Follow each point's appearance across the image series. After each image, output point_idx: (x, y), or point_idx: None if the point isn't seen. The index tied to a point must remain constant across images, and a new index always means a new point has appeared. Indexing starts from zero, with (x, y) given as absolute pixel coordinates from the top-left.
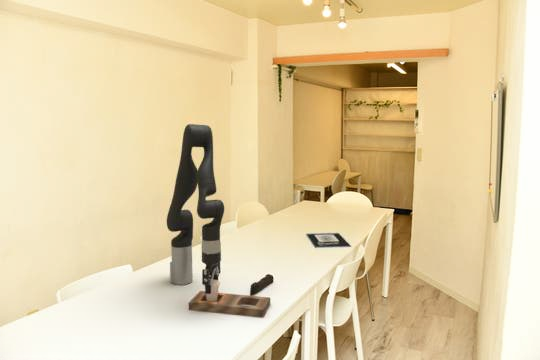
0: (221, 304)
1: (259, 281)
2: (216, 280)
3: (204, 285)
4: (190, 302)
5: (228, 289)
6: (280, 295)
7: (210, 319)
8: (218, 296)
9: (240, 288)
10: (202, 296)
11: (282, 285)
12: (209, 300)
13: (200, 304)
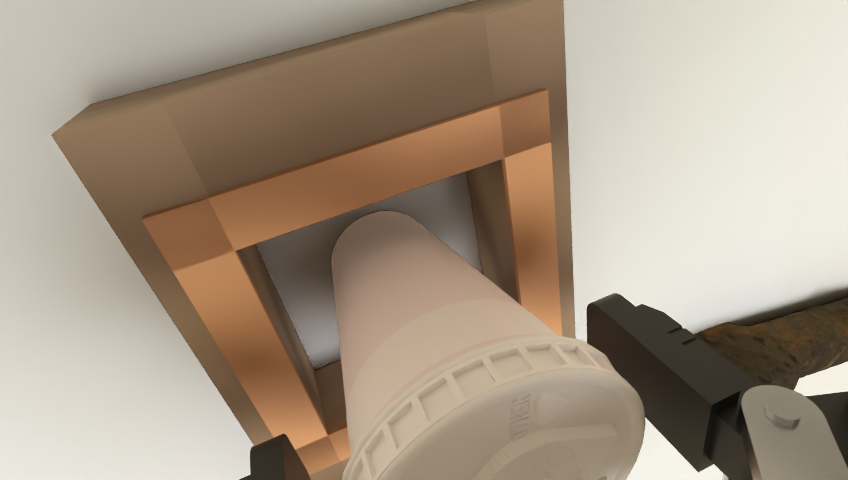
0: (312, 476)
1: (825, 357)
2: (615, 471)
3: (368, 442)
4: (80, 168)
5: (756, 140)
6: (681, 457)
7: (91, 460)
8: (509, 284)
9: (775, 214)
10: (385, 186)
11: (810, 379)
12: (337, 323)
13: (171, 309)
